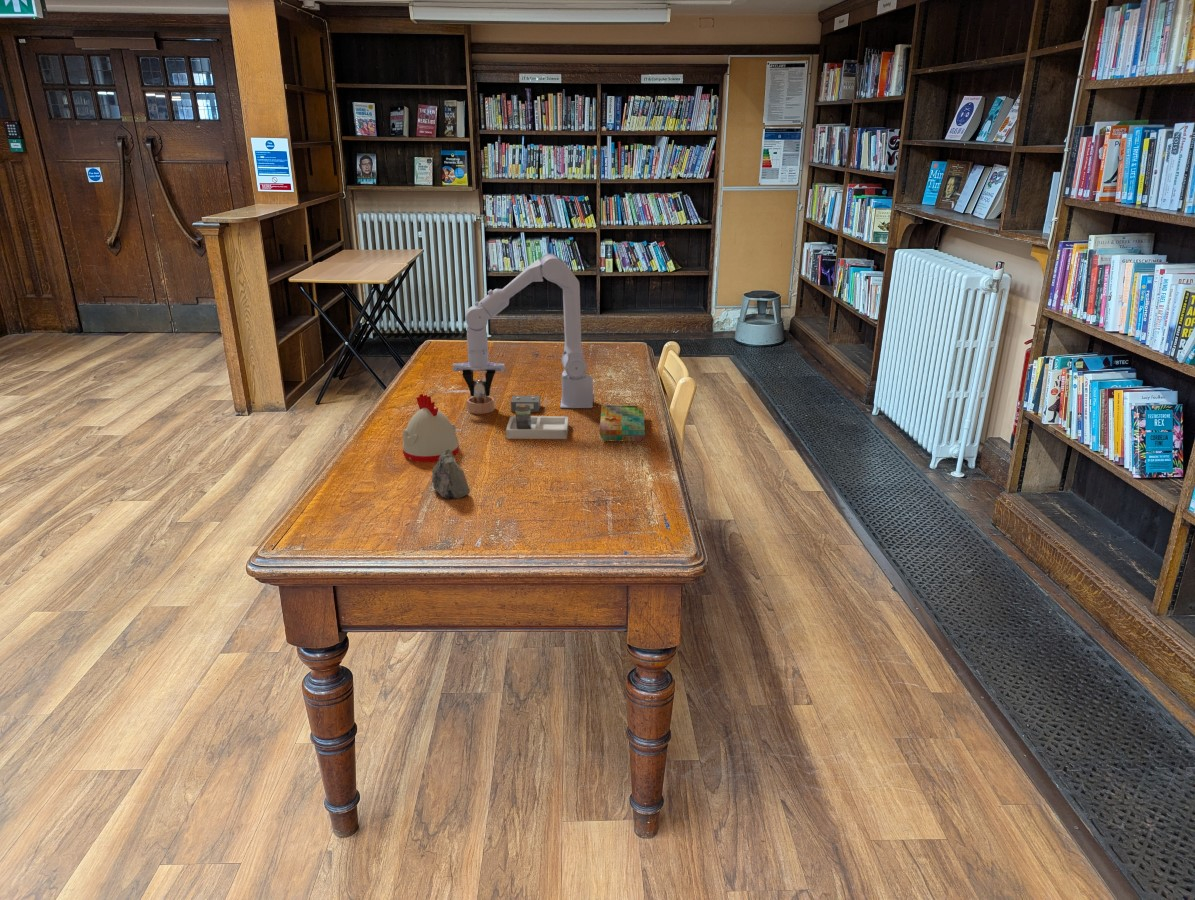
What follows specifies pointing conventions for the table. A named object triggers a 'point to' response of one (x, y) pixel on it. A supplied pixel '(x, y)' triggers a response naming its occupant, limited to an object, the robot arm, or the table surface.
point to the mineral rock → (449, 477)
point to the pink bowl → (480, 406)
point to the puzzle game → (622, 422)
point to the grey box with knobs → (526, 402)
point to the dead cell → (479, 391)
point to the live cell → (523, 417)
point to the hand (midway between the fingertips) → (480, 395)
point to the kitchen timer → (428, 433)
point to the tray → (539, 428)
